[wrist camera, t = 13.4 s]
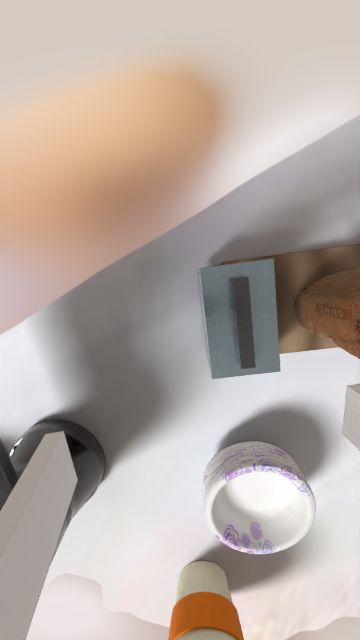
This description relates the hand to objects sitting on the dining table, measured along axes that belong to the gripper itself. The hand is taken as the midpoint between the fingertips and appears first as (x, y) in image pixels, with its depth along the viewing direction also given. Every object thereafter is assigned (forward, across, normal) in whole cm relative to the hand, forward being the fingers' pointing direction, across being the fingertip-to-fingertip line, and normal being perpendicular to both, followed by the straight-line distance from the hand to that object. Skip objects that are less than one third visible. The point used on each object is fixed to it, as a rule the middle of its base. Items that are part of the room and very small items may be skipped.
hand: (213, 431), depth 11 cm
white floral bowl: (+22, +9, -28) cm, 37 cm away
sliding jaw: (+23, +8, -1) cm, 24 cm away
